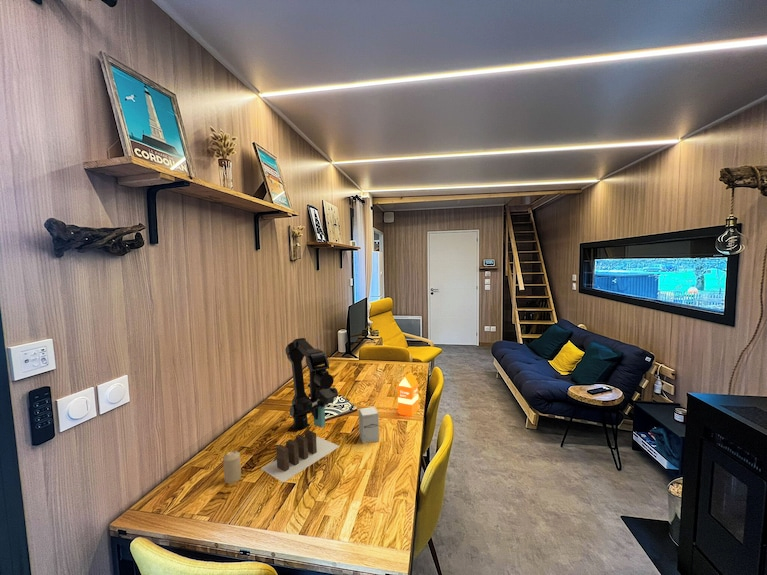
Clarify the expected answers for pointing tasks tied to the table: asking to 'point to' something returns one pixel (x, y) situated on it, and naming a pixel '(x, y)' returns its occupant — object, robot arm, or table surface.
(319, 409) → the domino
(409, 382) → the orange juice
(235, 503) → the table surface
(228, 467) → the candle
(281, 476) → the mat
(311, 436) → the domino
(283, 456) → the domino
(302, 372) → the robot arm
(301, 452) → the domino
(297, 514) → the table surface
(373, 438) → the supplement box
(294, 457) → the domino
